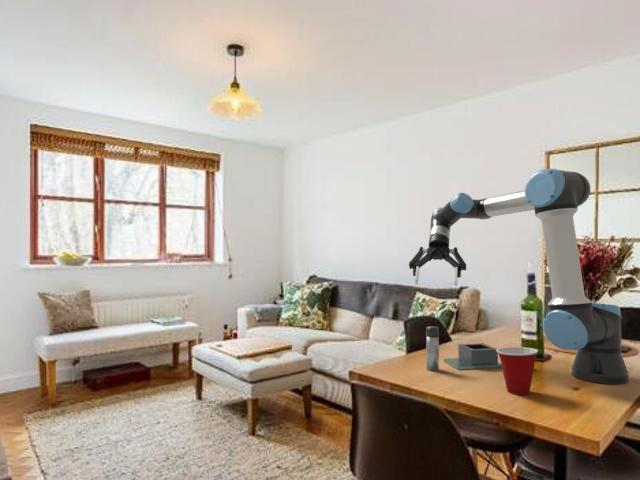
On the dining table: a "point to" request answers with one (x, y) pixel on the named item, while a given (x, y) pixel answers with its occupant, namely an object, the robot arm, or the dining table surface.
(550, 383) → the dining table surface
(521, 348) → the plastic cup
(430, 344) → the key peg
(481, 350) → the block
